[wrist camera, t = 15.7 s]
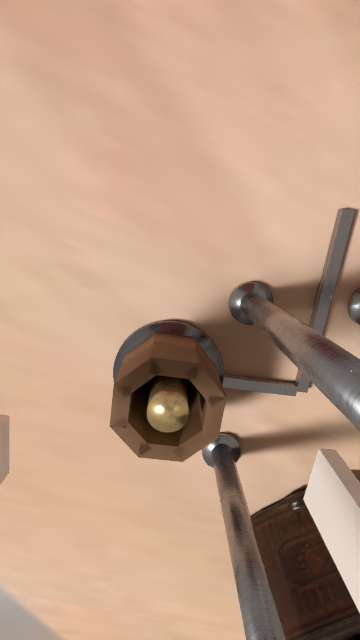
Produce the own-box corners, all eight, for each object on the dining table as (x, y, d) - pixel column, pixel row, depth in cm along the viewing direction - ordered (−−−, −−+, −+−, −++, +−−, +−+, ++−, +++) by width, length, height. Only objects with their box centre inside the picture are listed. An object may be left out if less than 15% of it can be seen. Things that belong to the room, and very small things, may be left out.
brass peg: (109, 414, 24) (91, 466, 19) (119, 313, 22) (102, 338, 17) (212, 425, 25) (224, 480, 19) (231, 328, 23) (250, 356, 17)
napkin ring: (120, 410, 24) (107, 454, 19) (128, 328, 22) (116, 353, 17) (204, 419, 24) (213, 465, 19) (219, 339, 23) (232, 367, 18)
